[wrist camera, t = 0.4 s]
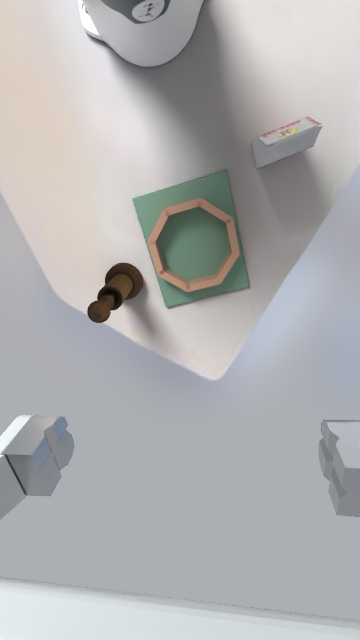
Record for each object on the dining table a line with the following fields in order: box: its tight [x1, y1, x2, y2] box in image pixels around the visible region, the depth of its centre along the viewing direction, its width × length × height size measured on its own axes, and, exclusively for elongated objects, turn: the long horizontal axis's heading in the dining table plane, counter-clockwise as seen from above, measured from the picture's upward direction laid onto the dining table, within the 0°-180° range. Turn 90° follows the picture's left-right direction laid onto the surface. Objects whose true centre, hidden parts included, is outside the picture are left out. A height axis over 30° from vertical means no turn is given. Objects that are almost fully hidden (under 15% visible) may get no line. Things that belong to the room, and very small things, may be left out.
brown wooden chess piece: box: [88, 263, 143, 323], centre depth 48 cm, size 7×6×18 cm
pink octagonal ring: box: [147, 198, 240, 292], centre depth 51 cm, size 14×14×3 cm
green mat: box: [133, 170, 249, 307], centre depth 52 cm, size 20×16×1 cm
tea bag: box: [251, 117, 323, 168], centre depth 42 cm, size 4×7×10 cm, turn 110°
